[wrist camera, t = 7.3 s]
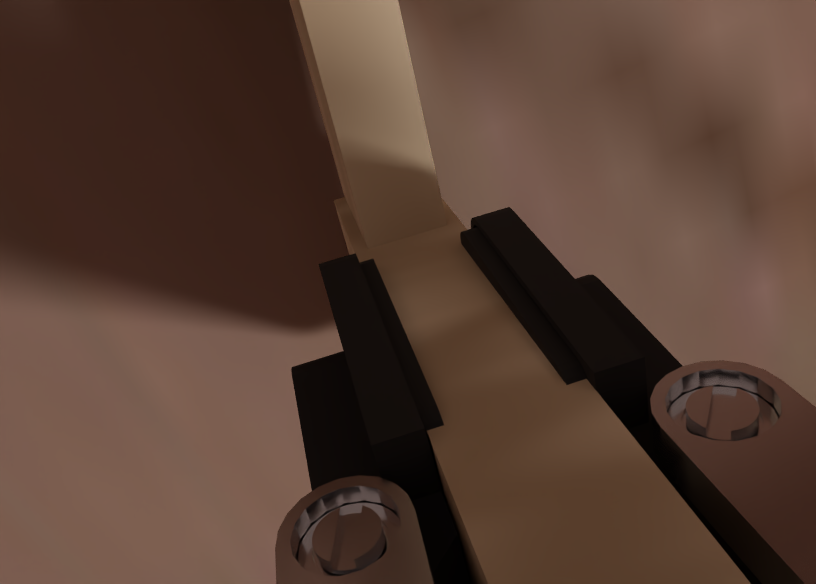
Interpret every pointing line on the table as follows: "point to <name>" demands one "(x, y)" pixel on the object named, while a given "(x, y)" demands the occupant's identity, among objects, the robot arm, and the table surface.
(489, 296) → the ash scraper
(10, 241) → the table surface
